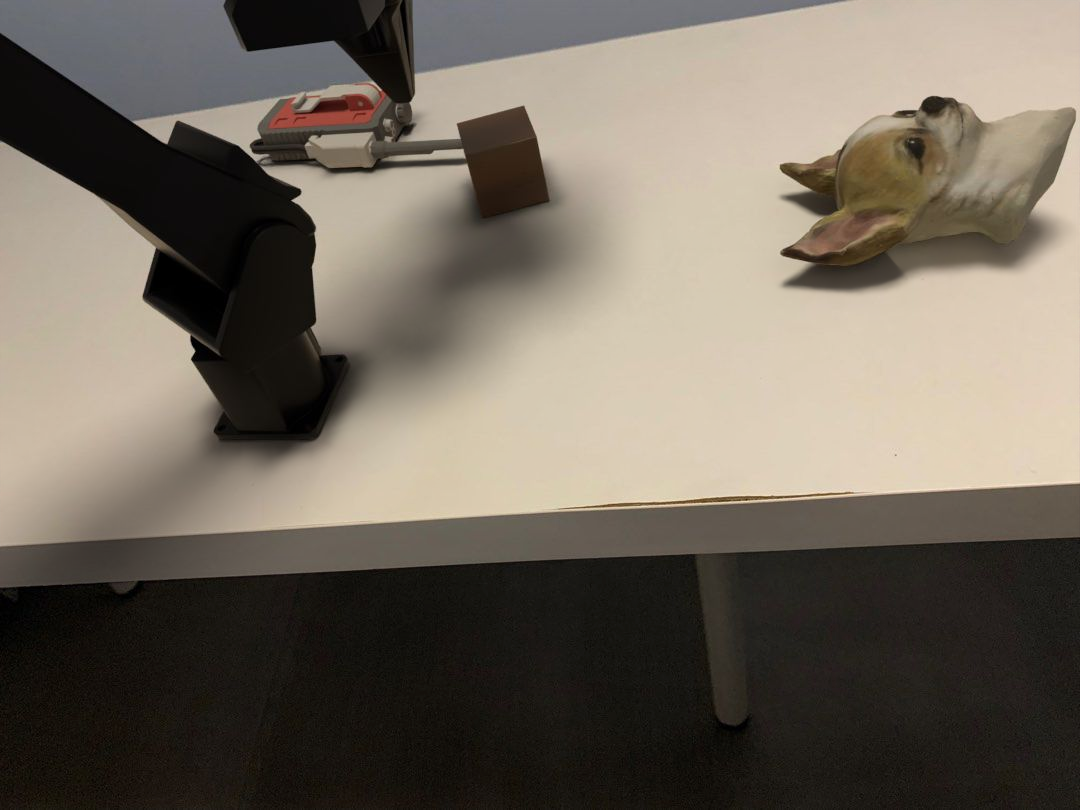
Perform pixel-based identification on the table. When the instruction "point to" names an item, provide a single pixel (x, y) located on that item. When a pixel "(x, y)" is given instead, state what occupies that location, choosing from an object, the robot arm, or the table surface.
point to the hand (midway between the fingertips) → (405, 100)
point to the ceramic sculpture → (930, 179)
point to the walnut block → (503, 161)
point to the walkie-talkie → (341, 128)
